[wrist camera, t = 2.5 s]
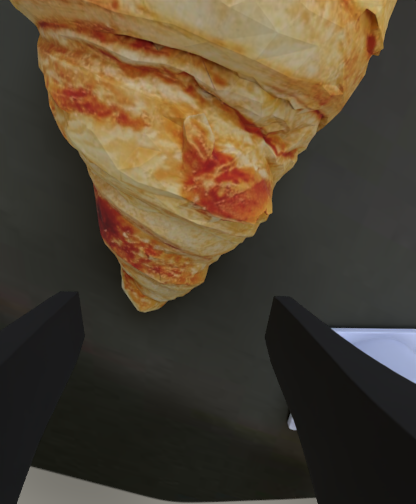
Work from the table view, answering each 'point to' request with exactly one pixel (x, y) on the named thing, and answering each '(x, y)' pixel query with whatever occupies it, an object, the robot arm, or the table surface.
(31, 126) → the table surface
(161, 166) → the croissant
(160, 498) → the table surface
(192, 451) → the table surface
